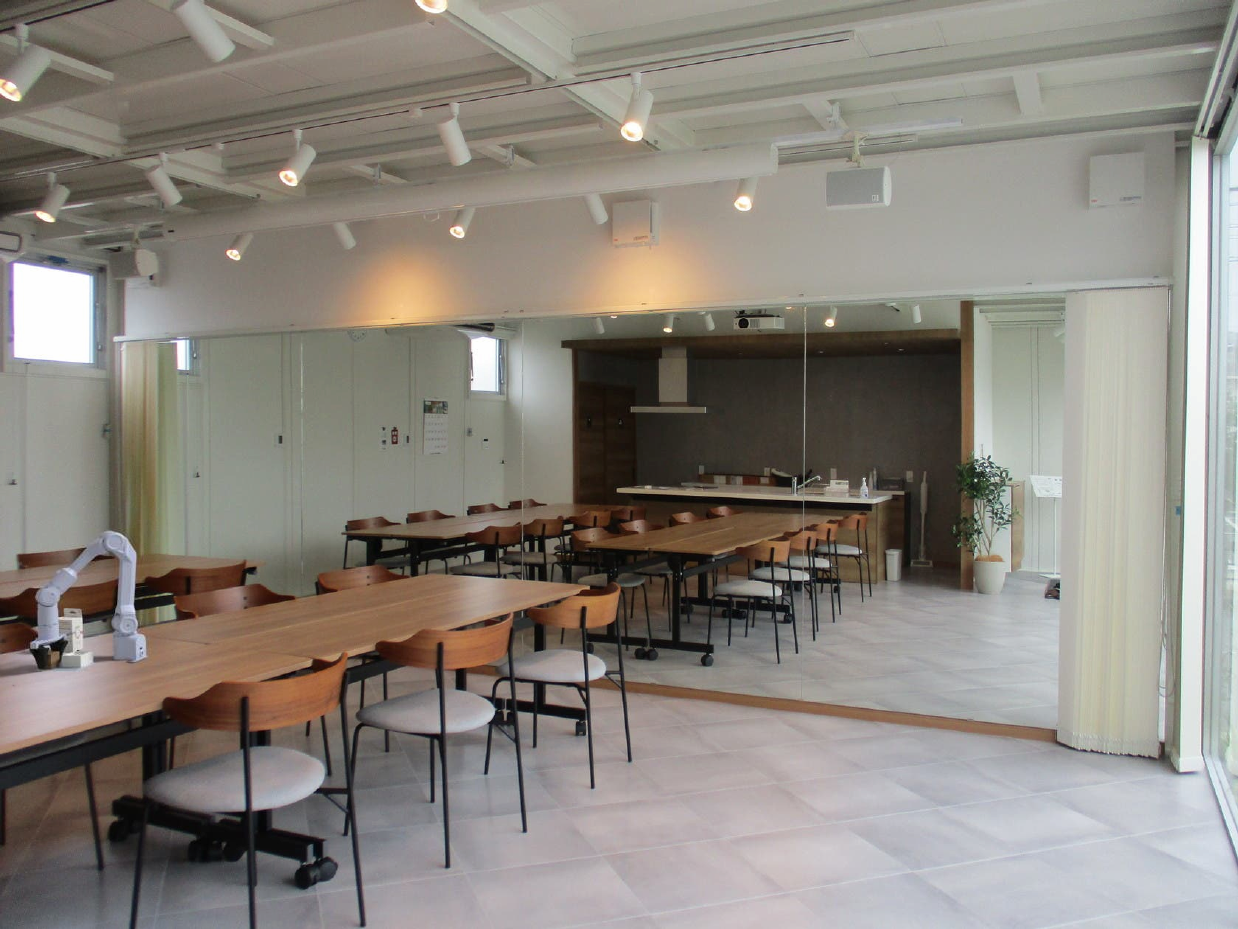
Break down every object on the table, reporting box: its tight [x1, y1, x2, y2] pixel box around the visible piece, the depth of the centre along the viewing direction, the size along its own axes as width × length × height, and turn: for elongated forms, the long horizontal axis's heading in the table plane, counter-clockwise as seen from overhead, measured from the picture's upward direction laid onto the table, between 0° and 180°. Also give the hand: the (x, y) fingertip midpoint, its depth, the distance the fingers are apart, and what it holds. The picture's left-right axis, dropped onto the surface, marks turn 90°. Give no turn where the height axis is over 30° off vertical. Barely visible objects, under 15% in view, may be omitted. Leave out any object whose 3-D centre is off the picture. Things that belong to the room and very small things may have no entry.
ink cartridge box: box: [58, 607, 84, 653], centre depth 332 cm, size 9×5×15 cm, turn 74°
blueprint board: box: [34, 650, 98, 672], centre depth 304 cm, size 14×11×5 cm
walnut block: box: [40, 651, 60, 670], centre depth 302 cm, size 4×4×5 cm
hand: (49, 666), depth 302 cm, fingers open, 7 cm apart
